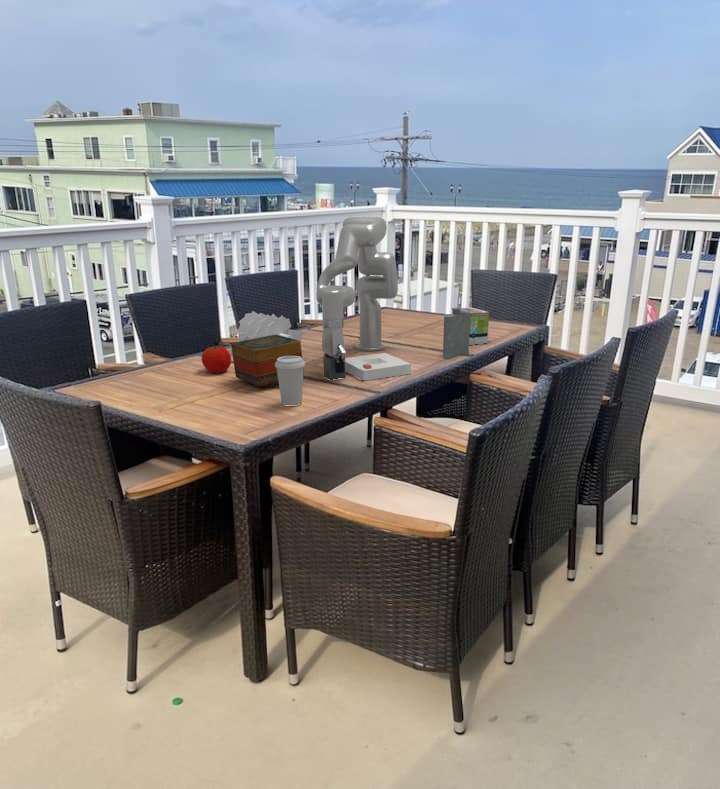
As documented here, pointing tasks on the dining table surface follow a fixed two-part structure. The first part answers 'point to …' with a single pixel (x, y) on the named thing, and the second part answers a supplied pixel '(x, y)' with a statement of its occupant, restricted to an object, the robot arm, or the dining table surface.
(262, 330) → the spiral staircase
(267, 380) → the decorative box
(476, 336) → the tea box
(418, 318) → the dining table surface
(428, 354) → the dining table surface
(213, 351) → the tomato
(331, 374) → the plug
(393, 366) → the socket
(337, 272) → the robot arm
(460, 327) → the hip flask
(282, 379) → the coffee cup
